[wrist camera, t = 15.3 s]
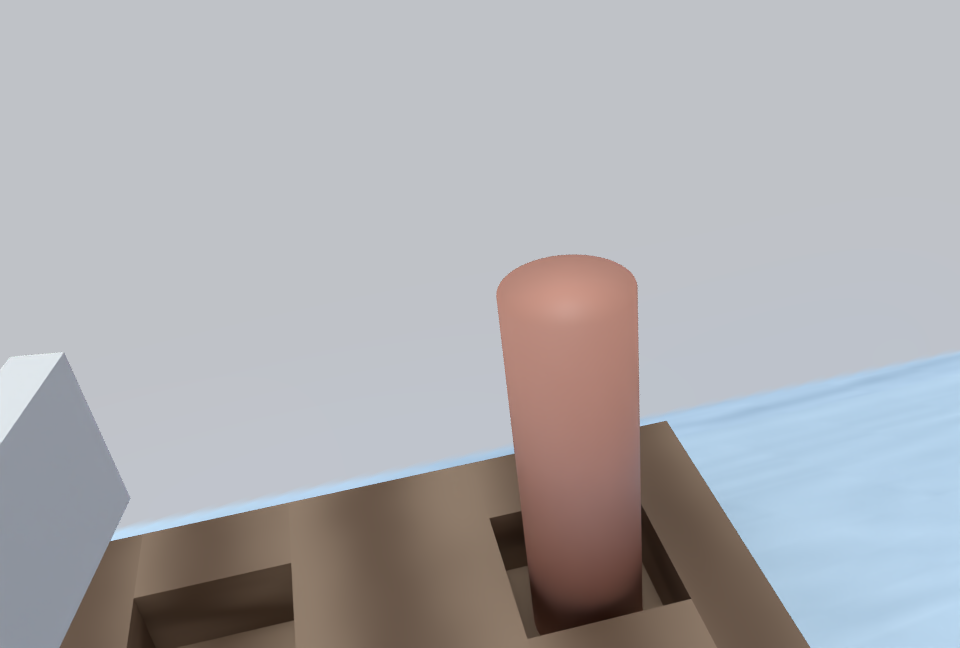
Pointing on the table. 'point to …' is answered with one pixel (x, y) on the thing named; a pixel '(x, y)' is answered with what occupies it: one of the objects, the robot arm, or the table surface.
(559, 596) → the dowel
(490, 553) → the hole board
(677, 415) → the table surface
